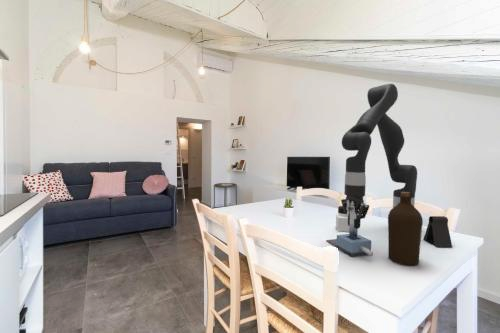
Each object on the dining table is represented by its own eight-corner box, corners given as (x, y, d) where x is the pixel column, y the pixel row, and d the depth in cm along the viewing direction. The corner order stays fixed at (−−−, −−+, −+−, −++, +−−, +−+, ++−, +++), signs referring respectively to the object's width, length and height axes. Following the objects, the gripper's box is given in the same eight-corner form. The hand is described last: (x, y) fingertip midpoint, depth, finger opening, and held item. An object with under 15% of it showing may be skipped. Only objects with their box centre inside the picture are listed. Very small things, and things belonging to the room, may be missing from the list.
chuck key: (356, 234, 100) (357, 202, 99) (361, 236, 97) (362, 203, 96) (345, 235, 98) (346, 202, 98) (350, 237, 95) (351, 204, 95)
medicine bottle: (352, 232, 122) (353, 208, 121) (337, 231, 123) (338, 207, 123) (350, 227, 129) (350, 205, 128) (335, 227, 130) (336, 204, 130)
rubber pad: (339, 239, 111) (339, 238, 111) (350, 245, 104) (350, 244, 104) (326, 241, 109) (326, 240, 109) (336, 247, 102) (336, 245, 102)
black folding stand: (423, 240, 111) (424, 213, 110) (436, 240, 111) (438, 214, 110) (437, 247, 102) (438, 219, 101) (452, 248, 102) (453, 219, 101)
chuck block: (354, 246, 104) (355, 233, 103) (381, 259, 90) (381, 245, 90) (336, 248, 101) (336, 235, 101) (360, 262, 88) (360, 247, 87)
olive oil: (392, 265, 86) (394, 194, 84) (382, 253, 96) (384, 189, 95) (426, 268, 84) (429, 195, 82) (413, 255, 94) (415, 190, 93)
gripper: (376, 185, 91) (375, 231, 92) (351, 181, 104) (349, 221, 105) (359, 186, 89) (358, 233, 90) (335, 181, 102) (334, 222, 103)
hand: (353, 226), depth 97 cm, fingers closed on chuck key, 3 cm apart
